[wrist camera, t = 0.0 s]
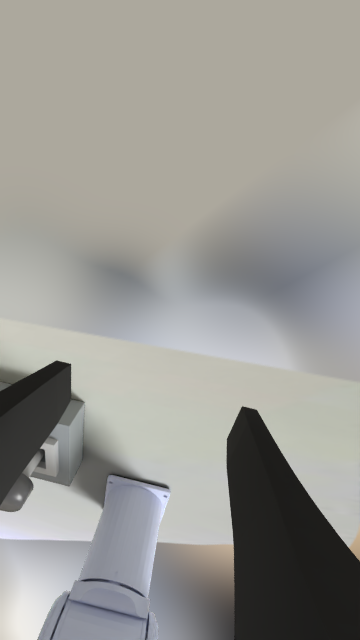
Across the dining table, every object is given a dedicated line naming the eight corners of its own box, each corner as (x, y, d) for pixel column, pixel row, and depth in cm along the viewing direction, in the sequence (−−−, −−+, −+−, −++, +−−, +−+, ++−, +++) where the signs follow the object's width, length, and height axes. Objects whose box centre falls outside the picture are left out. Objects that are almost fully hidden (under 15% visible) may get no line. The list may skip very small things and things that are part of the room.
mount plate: (82, 460, 29) (66, 492, 26) (-43, 429, 29) (-74, 456, 26) (84, 402, 25) (65, 431, 22) (-64, 365, 25) (-104, 389, 22)
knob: (55, 462, 26) (23, 516, 21) (19, 453, 26) (-20, 505, 21) (54, 438, 24) (19, 491, 20) (16, 429, 24) (-28, 479, 20)
